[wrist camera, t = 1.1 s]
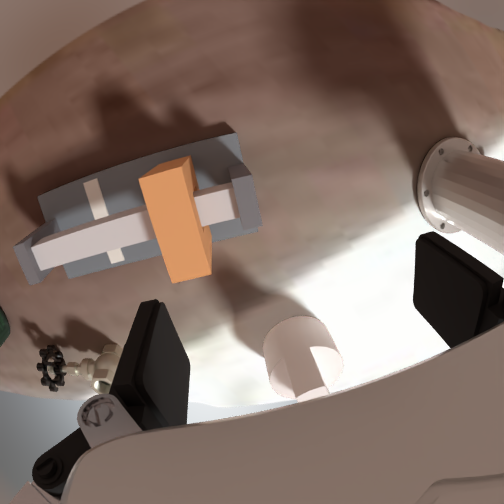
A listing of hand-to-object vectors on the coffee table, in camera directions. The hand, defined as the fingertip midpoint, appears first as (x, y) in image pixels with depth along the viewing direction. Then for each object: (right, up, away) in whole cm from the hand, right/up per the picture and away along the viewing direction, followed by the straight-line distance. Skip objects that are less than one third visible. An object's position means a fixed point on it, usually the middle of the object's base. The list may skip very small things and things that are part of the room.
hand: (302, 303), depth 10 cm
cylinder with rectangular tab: (+4, -10, +29) cm, 31 cm away
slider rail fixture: (-13, +6, +20) cm, 25 cm away
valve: (-24, -12, +27) cm, 38 cm away
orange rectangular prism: (-8, +6, +18) cm, 20 cm away
